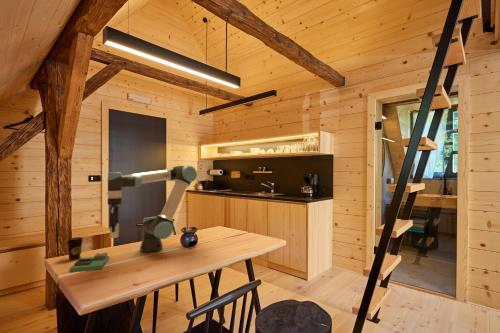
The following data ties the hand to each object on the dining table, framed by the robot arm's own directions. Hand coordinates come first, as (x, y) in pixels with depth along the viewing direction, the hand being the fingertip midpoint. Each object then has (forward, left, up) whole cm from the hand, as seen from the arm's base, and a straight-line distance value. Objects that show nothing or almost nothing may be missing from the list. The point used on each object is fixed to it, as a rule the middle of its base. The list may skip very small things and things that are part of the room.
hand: (114, 236), depth 160 cm
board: (+13, -2, -17) cm, 21 cm away
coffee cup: (+26, -17, -17) cm, 35 cm away
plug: (0, 0, 0) cm, 0 cm away
